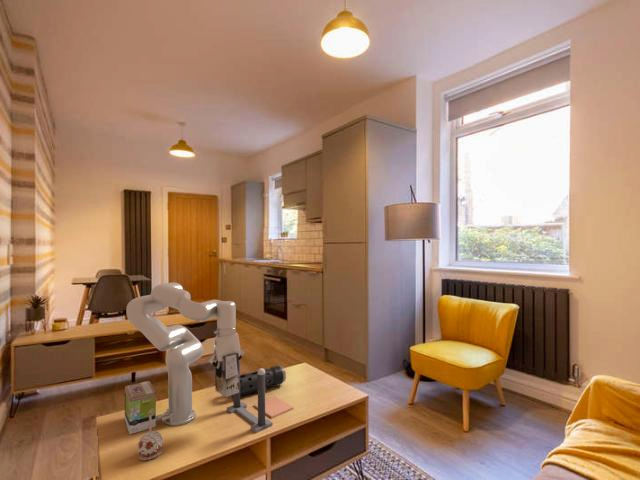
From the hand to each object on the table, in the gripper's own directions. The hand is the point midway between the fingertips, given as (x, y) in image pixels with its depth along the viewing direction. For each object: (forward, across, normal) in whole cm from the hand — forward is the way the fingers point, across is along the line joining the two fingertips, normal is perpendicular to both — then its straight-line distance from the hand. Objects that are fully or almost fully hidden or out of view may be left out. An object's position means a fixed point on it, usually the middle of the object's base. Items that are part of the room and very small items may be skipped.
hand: (227, 374), depth 138 cm
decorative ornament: (+22, -29, +2) cm, 36 cm away
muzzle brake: (+22, +27, +21) cm, 40 cm away
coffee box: (+7, 0, 0) cm, 7 cm away
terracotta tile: (+22, +23, +1) cm, 32 cm away
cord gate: (+22, +10, 0) cm, 24 cm away
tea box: (+22, -26, +28) cm, 44 cm away
